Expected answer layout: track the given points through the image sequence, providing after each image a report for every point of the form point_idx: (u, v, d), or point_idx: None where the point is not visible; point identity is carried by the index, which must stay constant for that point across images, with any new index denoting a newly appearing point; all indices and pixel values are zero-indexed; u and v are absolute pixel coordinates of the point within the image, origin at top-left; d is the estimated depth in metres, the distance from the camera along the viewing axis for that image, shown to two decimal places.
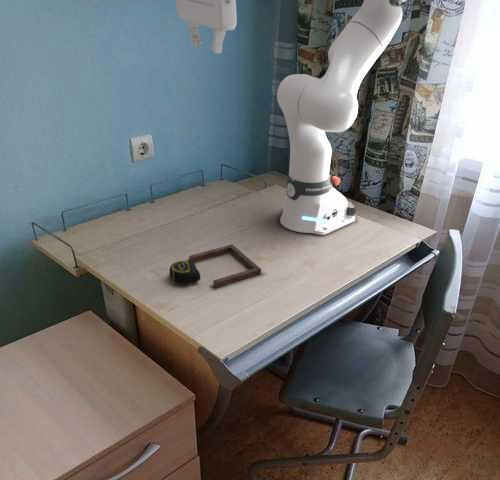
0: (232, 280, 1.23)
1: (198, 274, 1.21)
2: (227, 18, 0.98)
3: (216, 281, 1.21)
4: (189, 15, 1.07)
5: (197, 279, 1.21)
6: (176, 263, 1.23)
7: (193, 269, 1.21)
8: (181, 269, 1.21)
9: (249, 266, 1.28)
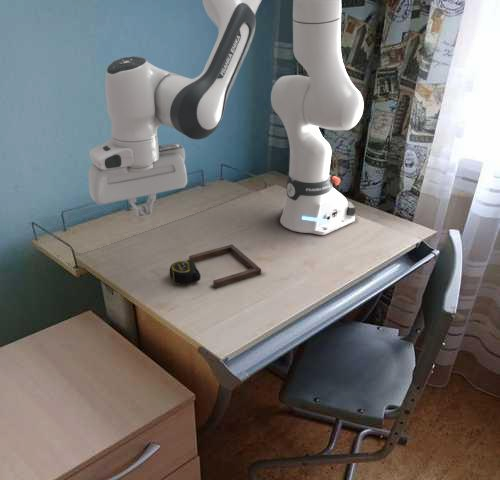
0: (232, 280, 1.23)
1: (198, 274, 1.21)
2: None
3: (216, 281, 1.21)
4: (127, 193, 1.03)
5: (197, 279, 1.21)
6: (176, 263, 1.23)
7: (193, 269, 1.21)
8: (181, 269, 1.21)
9: (249, 266, 1.28)
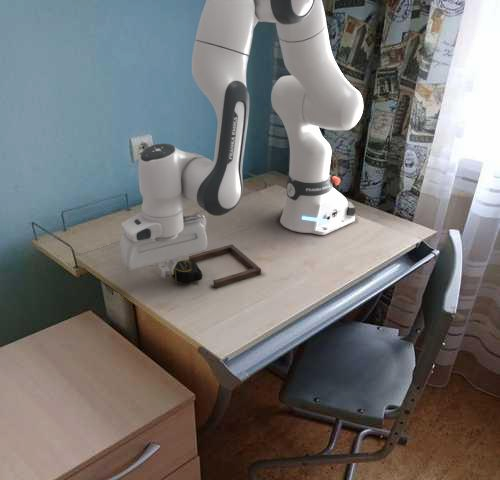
0: (232, 280, 1.23)
1: (200, 273, 1.21)
2: None
3: (216, 281, 1.21)
4: (154, 259, 1.15)
5: (199, 278, 1.22)
6: (178, 262, 1.23)
7: (195, 268, 1.22)
8: (182, 268, 1.21)
9: (249, 266, 1.28)
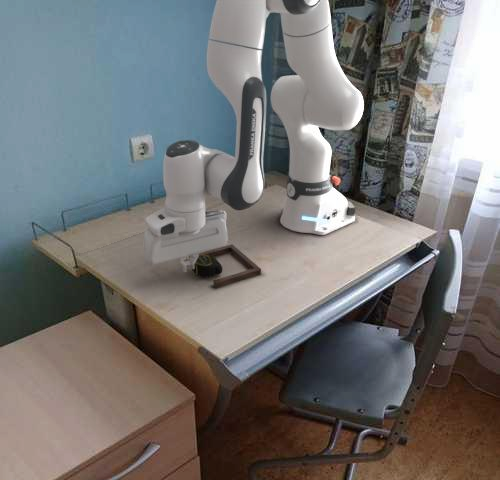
0: (232, 280, 1.23)
1: (220, 266, 1.24)
2: None
3: (216, 281, 1.21)
4: (176, 254, 1.17)
5: (219, 271, 1.24)
6: None
7: (215, 262, 1.24)
8: (203, 262, 1.24)
9: (249, 266, 1.28)
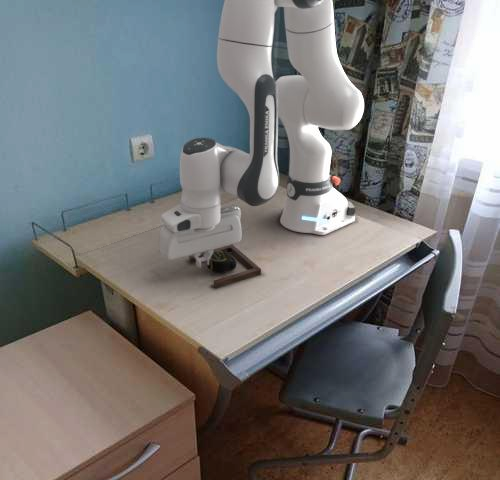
0: (232, 280, 1.23)
1: (235, 262, 1.26)
2: None
3: (216, 281, 1.21)
4: (192, 250, 1.19)
5: (234, 267, 1.26)
6: None
7: (229, 257, 1.26)
8: (217, 258, 1.26)
9: (249, 266, 1.28)
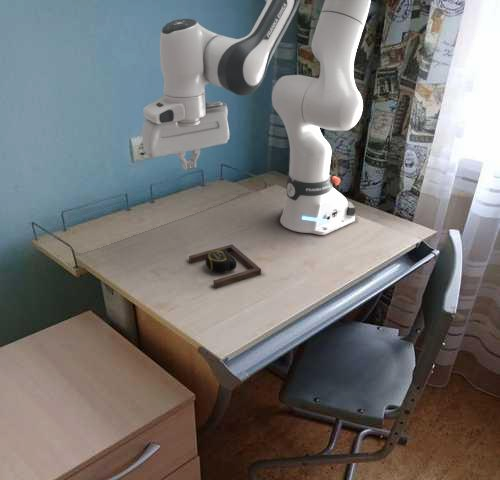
0: (232, 280, 1.23)
1: (235, 262, 1.26)
2: None
3: (216, 281, 1.21)
4: (177, 148, 1.13)
5: (234, 267, 1.26)
6: (211, 253, 1.27)
7: (229, 257, 1.26)
8: (217, 258, 1.26)
9: (249, 266, 1.28)
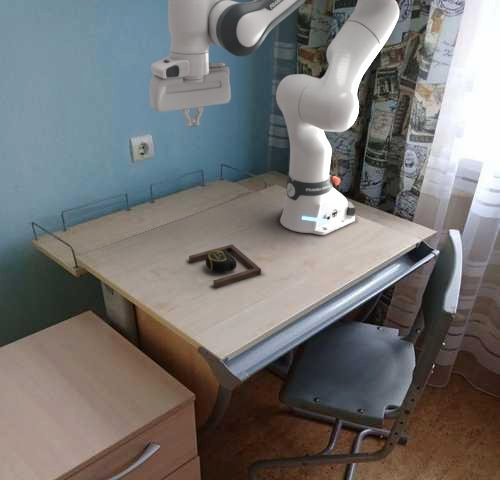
0: (232, 280, 1.23)
1: (235, 262, 1.26)
2: None
3: (216, 281, 1.21)
4: (181, 103, 1.21)
5: (234, 267, 1.26)
6: (211, 253, 1.27)
7: (229, 257, 1.26)
8: (217, 258, 1.26)
9: (249, 266, 1.28)
